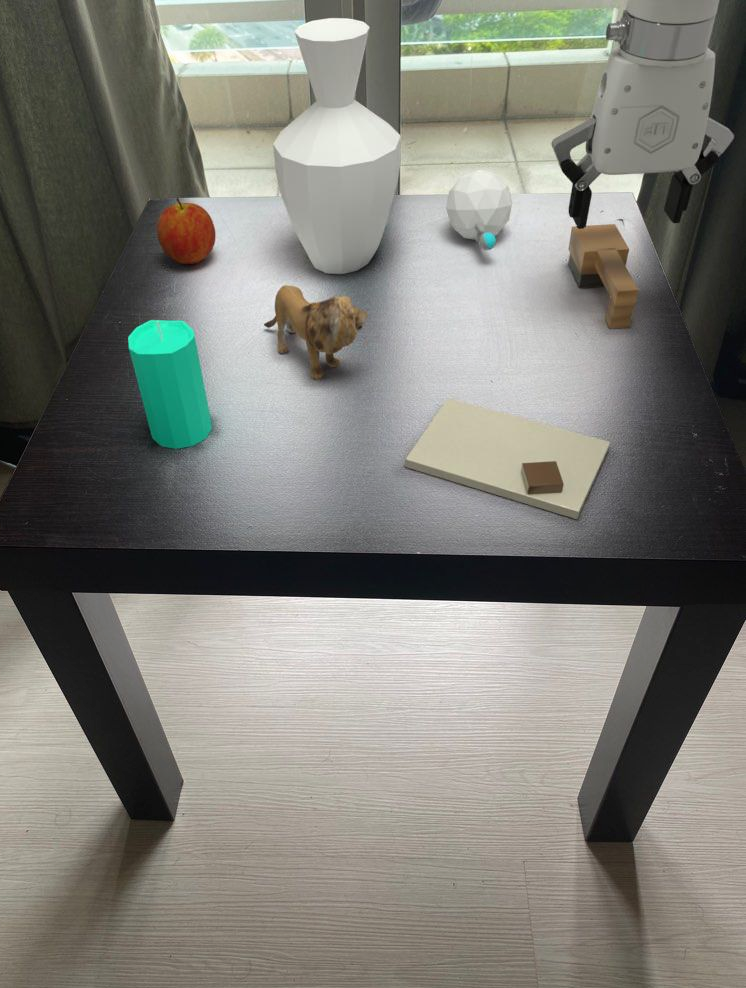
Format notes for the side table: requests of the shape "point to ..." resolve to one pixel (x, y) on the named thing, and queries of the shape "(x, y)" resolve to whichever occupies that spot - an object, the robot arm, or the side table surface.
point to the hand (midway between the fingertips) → (624, 219)
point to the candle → (170, 382)
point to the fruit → (186, 232)
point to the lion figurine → (316, 324)
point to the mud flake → (542, 477)
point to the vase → (337, 154)
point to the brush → (604, 269)
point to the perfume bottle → (479, 206)
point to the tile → (507, 455)
